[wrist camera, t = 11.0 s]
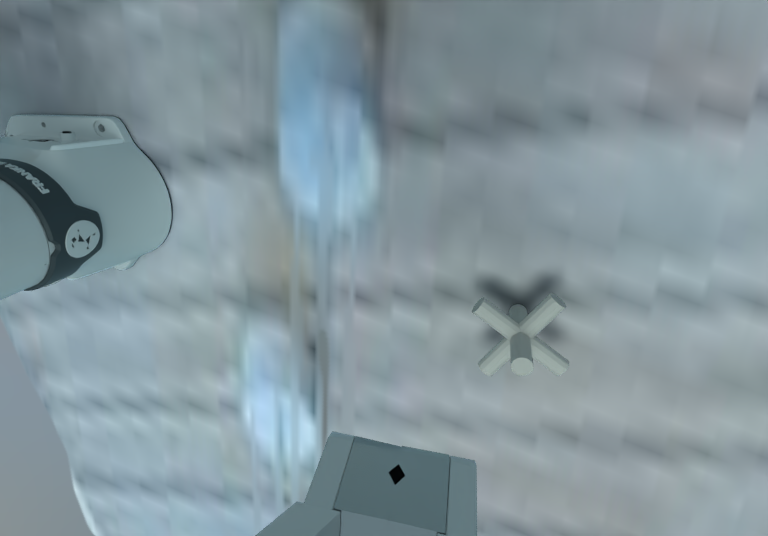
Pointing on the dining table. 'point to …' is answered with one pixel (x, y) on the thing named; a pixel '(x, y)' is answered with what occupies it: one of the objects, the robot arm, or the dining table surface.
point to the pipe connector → (521, 337)
